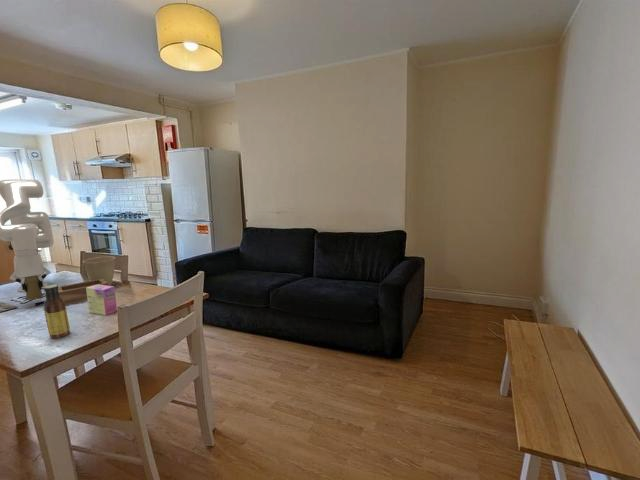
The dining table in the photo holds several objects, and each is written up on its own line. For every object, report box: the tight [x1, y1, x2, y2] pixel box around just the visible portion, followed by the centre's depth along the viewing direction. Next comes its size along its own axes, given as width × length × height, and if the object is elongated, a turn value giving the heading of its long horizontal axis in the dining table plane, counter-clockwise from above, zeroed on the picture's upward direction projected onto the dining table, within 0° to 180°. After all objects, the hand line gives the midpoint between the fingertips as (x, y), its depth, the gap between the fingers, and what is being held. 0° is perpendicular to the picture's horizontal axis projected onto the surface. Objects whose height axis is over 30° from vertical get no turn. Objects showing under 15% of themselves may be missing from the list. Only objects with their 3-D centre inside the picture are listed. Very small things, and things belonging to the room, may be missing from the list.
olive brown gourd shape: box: [25, 276, 44, 301], centre depth 150 cm, size 6×6×11 cm
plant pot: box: [82, 255, 116, 286], centre depth 178 cm, size 15×15×16 cm
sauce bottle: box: [43, 284, 71, 339], centre depth 119 cm, size 7×6×20 cm
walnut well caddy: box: [58, 279, 108, 307], centre depth 160 cm, size 12×20×7 cm, turn 135°
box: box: [86, 284, 118, 316], centre depth 142 cm, size 10×6×12 cm, turn 71°
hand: (33, 289), depth 150 cm, fingers closed on olive brown gourd shape, 4 cm apart
